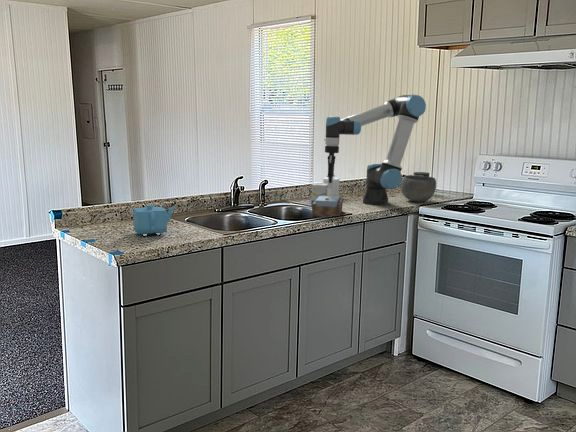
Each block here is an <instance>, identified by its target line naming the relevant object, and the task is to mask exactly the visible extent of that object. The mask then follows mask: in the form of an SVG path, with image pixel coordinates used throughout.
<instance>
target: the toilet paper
mask: <svg viewBox="0 0 576 432" xmlns="http://www.w3.org/2000/svg"><path fill="white" fill-rule="evenodd" d="M322 180H323V181H322V183H324V184H328V177H327V176H326V177H323V178H322ZM340 180H341V179H340V177H339V178H338V177H333V189H327V196H335V197H340V182H341V181H340Z"/></svg>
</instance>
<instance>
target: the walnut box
mask: <svg viewBox="0 0 576 432" xmlns="http://www.w3.org/2000/svg"><path fill="white" fill-rule="evenodd" d="M315 204H316V200H315V202H314V203H313V204H312V205H311V210H312V211H311V217H325V218H326V217H327V218H328V216H339V215H340V216H341V214H342V212H343V199H340V201H339V203H338V205H337V207H322V206H315ZM340 213H341V214H340Z"/></svg>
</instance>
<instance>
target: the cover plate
mask: <svg viewBox="0 0 576 432" xmlns="http://www.w3.org/2000/svg"><path fill="white" fill-rule="evenodd" d="M340 198H341V197H340V196H339V197H335V196H319V197H318V198H317V199H316V204H315V206H322V207H337V205H338V203H339V201H340V200H341V199H340Z"/></svg>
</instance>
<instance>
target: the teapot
mask: <svg viewBox="0 0 576 432" xmlns="http://www.w3.org/2000/svg"><path fill="white" fill-rule="evenodd" d="M177 208H178V207H177V206H172V207H170V208H168V212H167V210H166V209H165V208H164V207H162V206H154V205H153V204H146V206H145V207H133V208H132V209H133V210H132V211H133V230H134V231H135V232H136V234H137V235H142V234H148V235H149V234H156V233H161V234H162V233H168V225H167V224H168V223H169V222H170V220H171V217H172V213H173V211H174V210H175V209H177Z"/></svg>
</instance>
